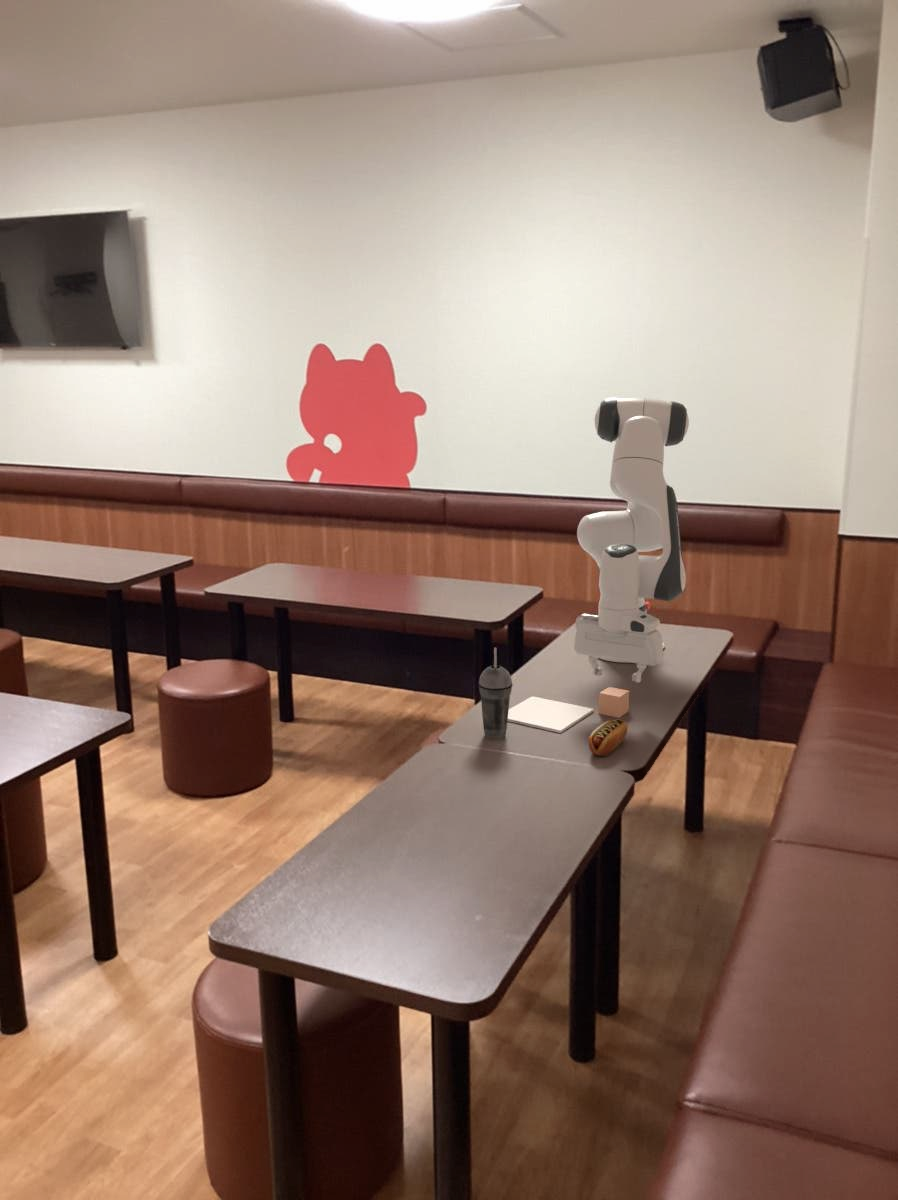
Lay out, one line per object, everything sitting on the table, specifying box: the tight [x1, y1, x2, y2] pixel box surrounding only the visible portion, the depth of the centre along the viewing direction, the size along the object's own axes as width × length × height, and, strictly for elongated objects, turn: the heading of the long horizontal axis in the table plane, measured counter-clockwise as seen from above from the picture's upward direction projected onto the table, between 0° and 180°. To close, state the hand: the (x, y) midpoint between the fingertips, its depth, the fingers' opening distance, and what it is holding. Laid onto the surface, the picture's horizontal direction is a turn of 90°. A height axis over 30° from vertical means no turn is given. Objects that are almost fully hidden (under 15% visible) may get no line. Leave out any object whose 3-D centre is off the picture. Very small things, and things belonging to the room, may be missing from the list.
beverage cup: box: [477, 647, 514, 741], centre depth 221 cm, size 7×7×20 cm
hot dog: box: [588, 717, 628, 757], centre depth 216 cm, size 5×13×5 cm, turn 149°
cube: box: [598, 686, 630, 719], centre depth 236 cm, size 5×5×5 cm
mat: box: [507, 695, 595, 734], centre depth 235 cm, size 16×16×1 cm
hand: (616, 678), depth 234 cm, fingers open, 8 cm apart
